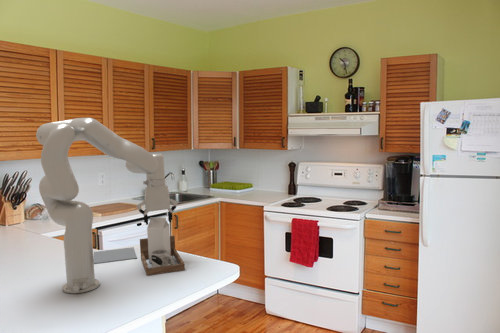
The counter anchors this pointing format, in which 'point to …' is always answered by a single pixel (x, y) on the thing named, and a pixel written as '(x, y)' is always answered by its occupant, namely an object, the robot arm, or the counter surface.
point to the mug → (160, 258)
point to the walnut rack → (163, 269)
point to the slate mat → (114, 255)
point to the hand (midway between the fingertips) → (158, 222)
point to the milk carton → (158, 236)
